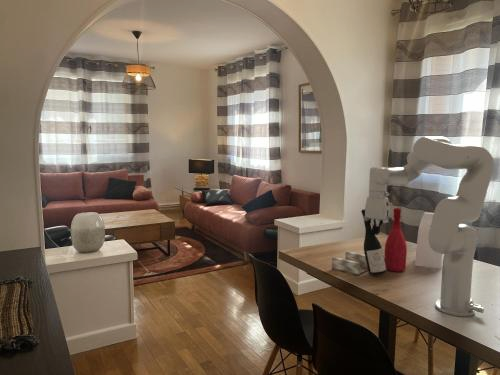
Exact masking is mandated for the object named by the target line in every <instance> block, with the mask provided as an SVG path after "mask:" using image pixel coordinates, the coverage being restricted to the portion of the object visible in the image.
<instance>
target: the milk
mask: <svg viewBox="0 0 500 375" xmlns="http://www.w3.org/2000/svg"><path fill="white" fill-rule="evenodd" d="M433 215H434V212H424V213H423V215H422V217H421V220H420V224H419V226H418V230H417V240H416V249H415V258H414V266H419V267H424V268H432V269H433V268H434V269H438V270H439V269H441V270H442V265H443V258H442V257H443V254H440V253H437V252H435V251H434V250H433V249H432V248H431V247H430V245H429V239H428V238H429V231H430V227H431V223H432V219H433Z"/></svg>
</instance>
